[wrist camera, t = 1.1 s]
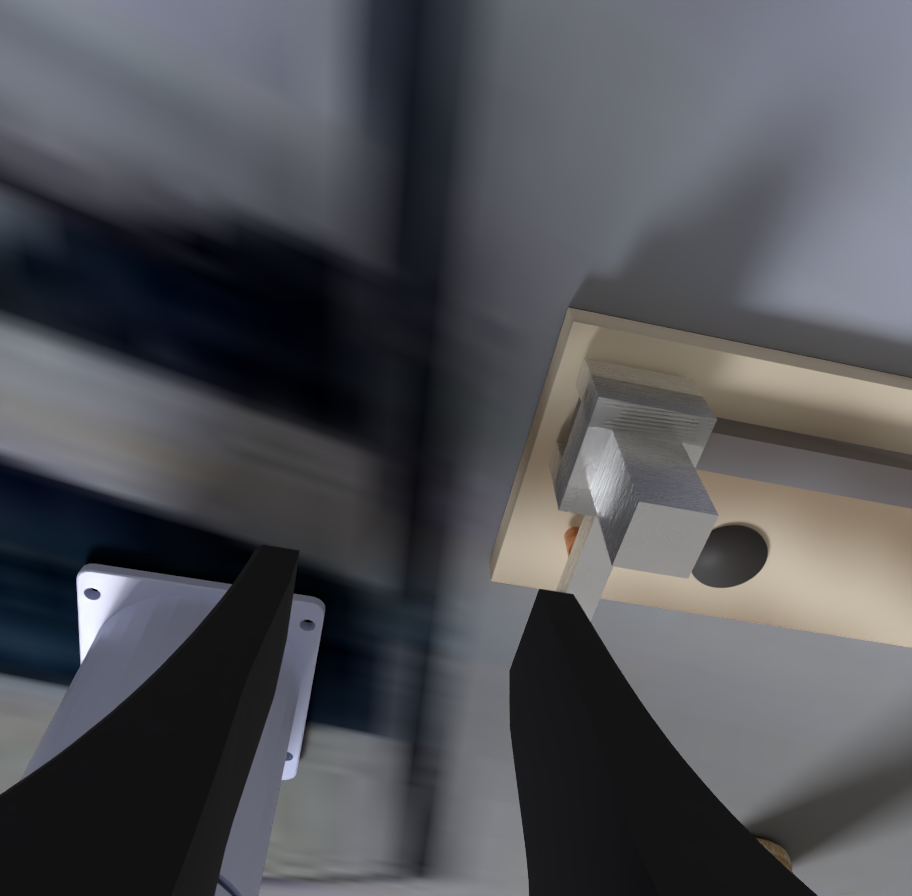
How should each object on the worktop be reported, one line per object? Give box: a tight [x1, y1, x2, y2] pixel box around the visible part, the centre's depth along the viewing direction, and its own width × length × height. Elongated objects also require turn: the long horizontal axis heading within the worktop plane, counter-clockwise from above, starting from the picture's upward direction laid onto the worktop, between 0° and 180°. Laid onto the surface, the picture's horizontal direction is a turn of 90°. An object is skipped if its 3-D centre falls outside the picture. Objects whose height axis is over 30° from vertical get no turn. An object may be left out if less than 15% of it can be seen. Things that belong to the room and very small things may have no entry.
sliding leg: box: [549, 358, 719, 621], centre depth 20 cm, size 7×3×5 cm, turn 168°
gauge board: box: [490, 307, 912, 648], centre depth 23 cm, size 9×20×2 cm, turn 78°
